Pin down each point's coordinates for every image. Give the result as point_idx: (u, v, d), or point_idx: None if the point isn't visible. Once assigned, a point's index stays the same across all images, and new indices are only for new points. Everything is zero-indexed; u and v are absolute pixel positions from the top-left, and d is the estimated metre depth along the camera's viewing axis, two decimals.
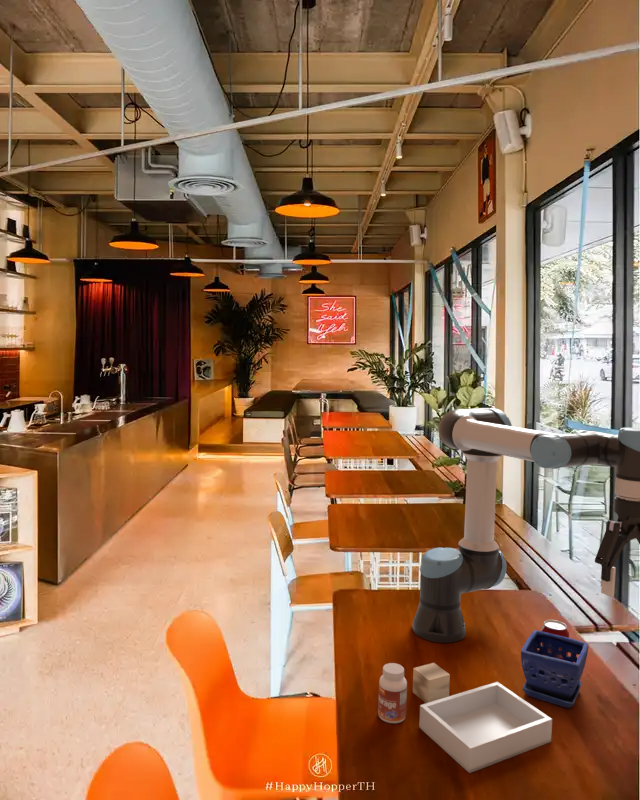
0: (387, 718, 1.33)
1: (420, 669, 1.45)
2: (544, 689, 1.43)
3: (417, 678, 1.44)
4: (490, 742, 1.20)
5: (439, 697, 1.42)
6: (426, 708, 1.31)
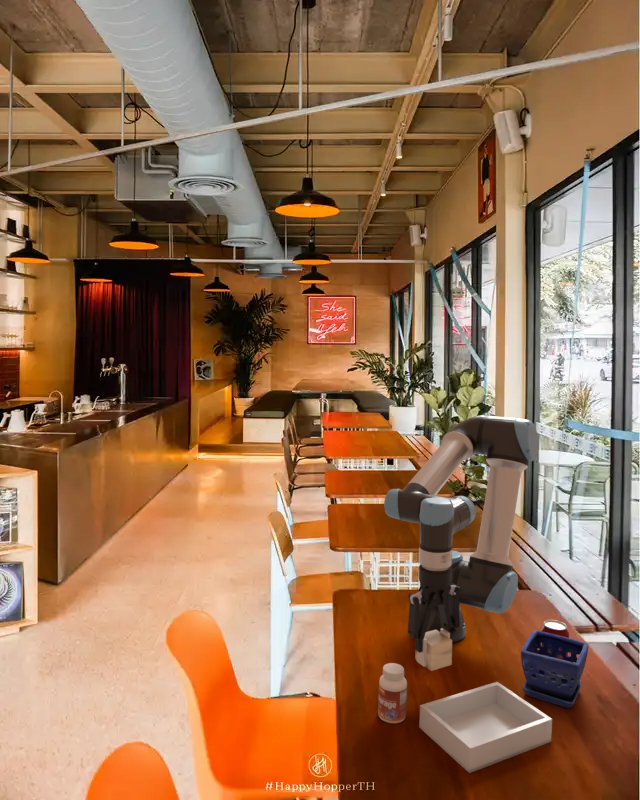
0: (387, 718, 1.33)
1: None
2: (544, 689, 1.43)
3: None
4: (490, 742, 1.20)
5: (442, 663, 1.42)
6: (426, 708, 1.31)
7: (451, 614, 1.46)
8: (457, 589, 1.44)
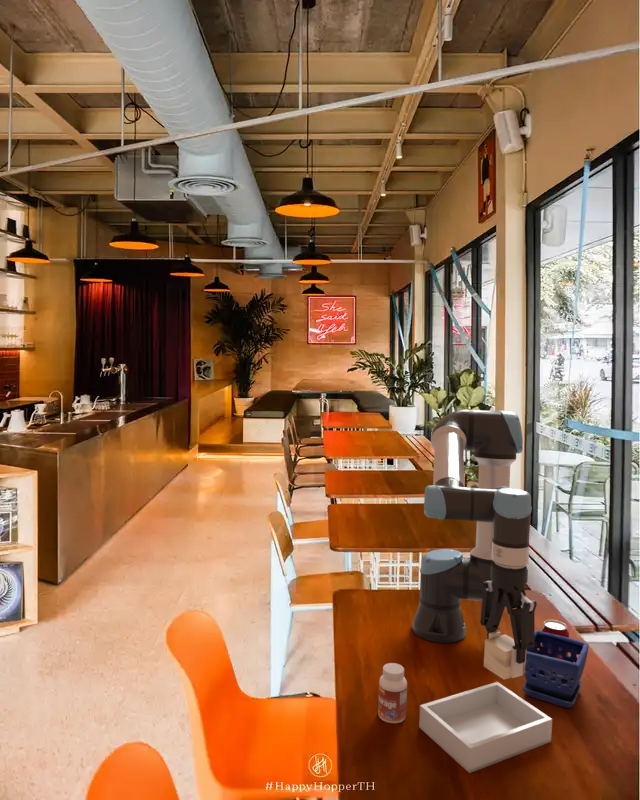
0: (387, 718, 1.33)
1: (505, 637, 1.33)
2: (544, 689, 1.43)
3: None
4: (490, 742, 1.20)
5: (494, 668, 1.30)
6: (426, 708, 1.31)
7: None
8: (524, 603, 1.24)
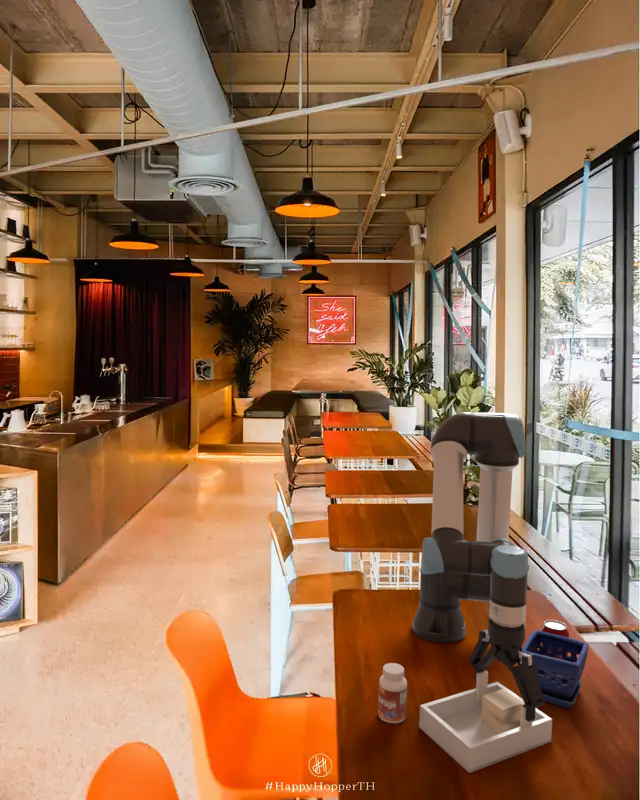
0: (387, 718, 1.33)
1: (502, 692, 1.34)
2: (544, 689, 1.43)
3: None
4: (490, 742, 1.20)
5: (491, 725, 1.31)
6: (426, 708, 1.31)
7: None
8: (522, 658, 1.25)
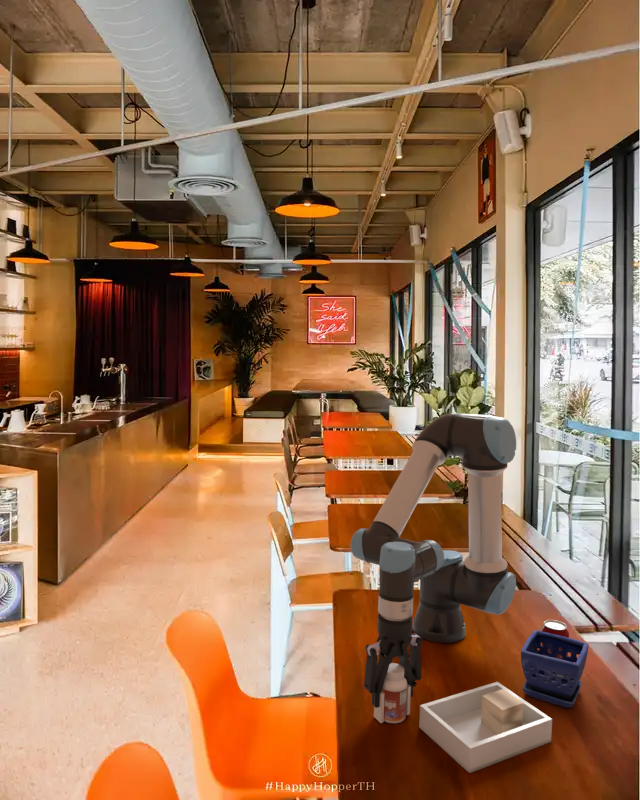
0: (387, 718, 1.33)
1: (502, 692, 1.34)
2: (544, 689, 1.43)
3: None
4: (490, 742, 1.20)
5: (491, 725, 1.31)
6: (426, 708, 1.31)
7: (412, 666, 1.38)
8: (418, 639, 1.36)
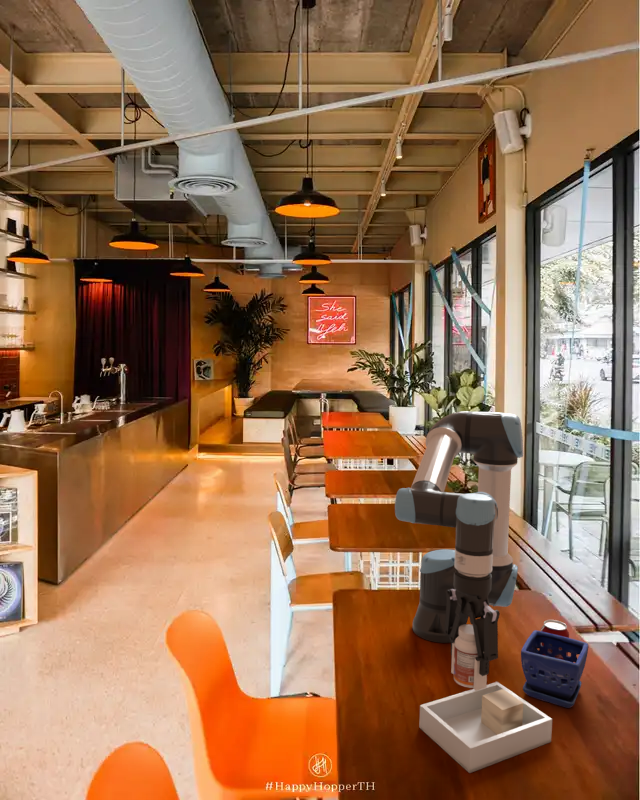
0: None
1: (502, 692, 1.34)
2: (544, 689, 1.43)
3: None
4: (490, 742, 1.20)
5: (491, 725, 1.31)
6: (426, 708, 1.31)
7: None
8: (487, 613, 1.20)
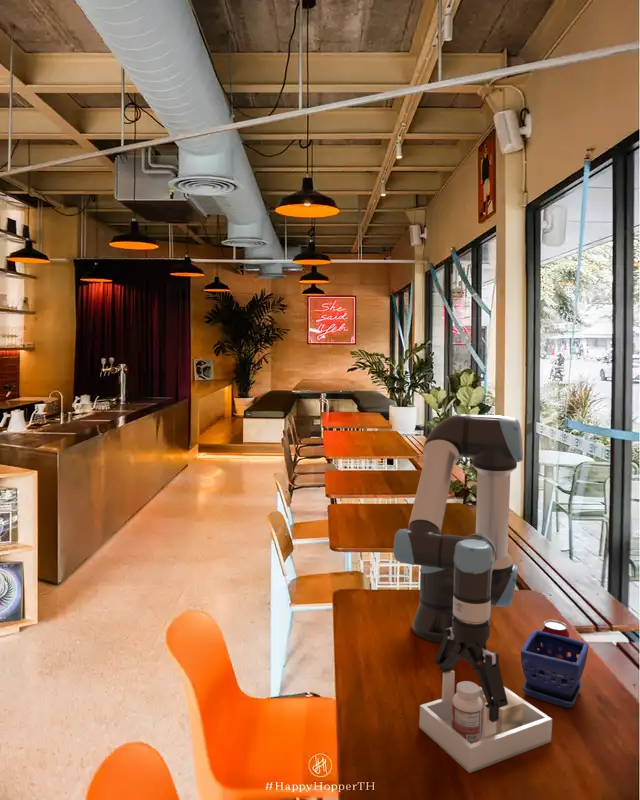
0: None
1: None
2: (544, 689, 1.43)
3: None
4: (490, 742, 1.20)
5: None
6: (426, 708, 1.31)
7: None
8: (485, 656, 1.21)
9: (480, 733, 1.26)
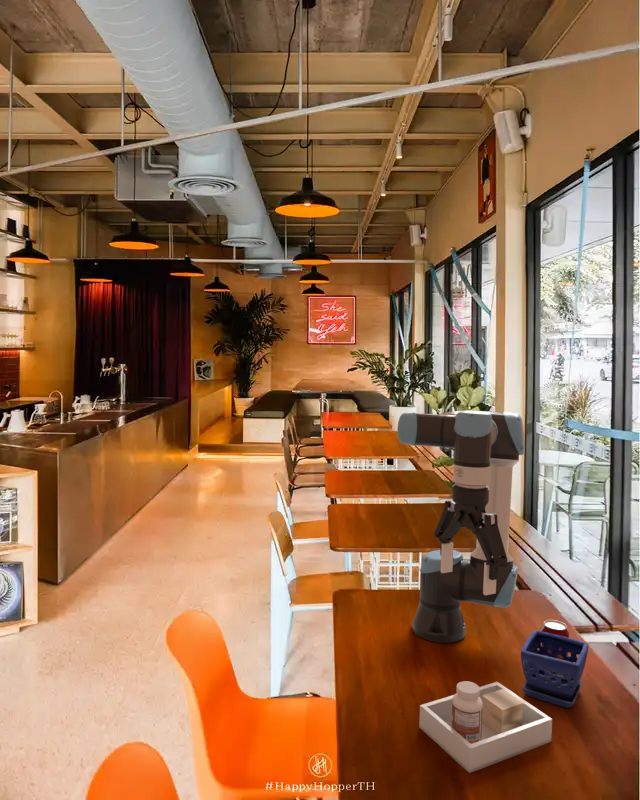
0: None
1: (502, 692, 1.34)
2: (544, 689, 1.43)
3: None
4: (490, 742, 1.20)
5: (491, 725, 1.31)
6: (426, 708, 1.31)
7: None
8: (484, 516, 1.24)
9: (480, 733, 1.26)
